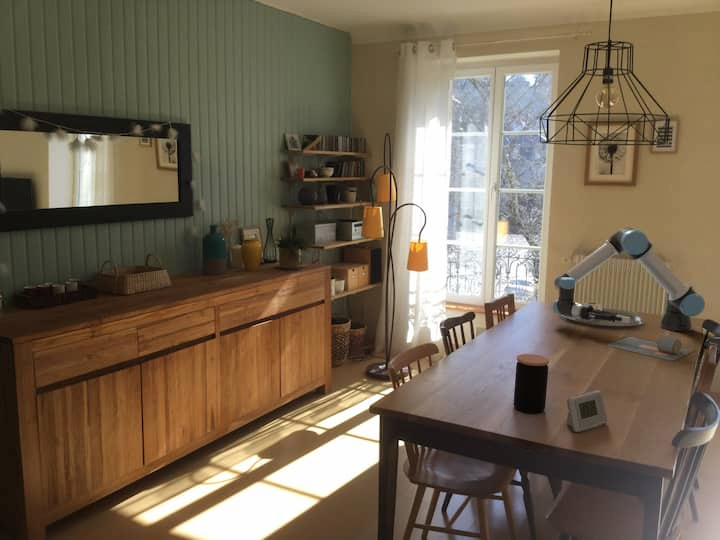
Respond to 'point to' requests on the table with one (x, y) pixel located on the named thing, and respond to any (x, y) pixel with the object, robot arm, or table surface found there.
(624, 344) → the t mat
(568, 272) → the robot arm
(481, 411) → the table surface
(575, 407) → the digital clock
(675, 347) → the ceramic mug
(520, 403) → the coffee jar
